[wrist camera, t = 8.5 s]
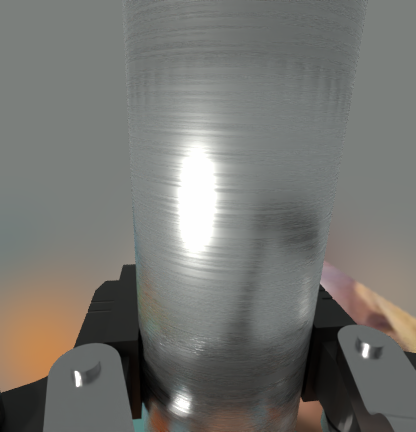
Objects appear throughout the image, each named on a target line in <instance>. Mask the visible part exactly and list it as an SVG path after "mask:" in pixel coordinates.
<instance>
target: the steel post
mask: <svg viewBox="0 0 416 432" xmlns="http://www.w3.org/2000/svg"><path fill="white" fill-rule="evenodd" d="M367 2H368V0H122V5H123V25H124V45H125V65H126V82H127V102H128V124H129V144H130V162H131V181H132V182H131V183H132V202H133V221H134V222H133V223H134V242H135V260H136V261H135V262H136V282H137V302H138V321H139V334H140V354H141V374H142V394H143V420H144V432H295V427H296V421H297V415H298V409H299V403H300V397H301V391H302V386H303V380H304V374H305V368H306V362H307V356H308V350H309V344H310V338H311V333H312V327H313V321H314V315H315V309H316V303H317V297H318V291H319V285H320V280H321V274H322V268H323V262H324V256H325V250H326V244H327V238H328V232H329V226H330V221H331V215H332V209H333V203H334V197H335V191H336V185H337V179H338V173H339V168H340V161H341V156H342V150H343V144H344V138H345V132H346V126H347V120H348V114H349V109H350V103H351V97H352V91H353V85H354V79H355V73H356V67H357V62H358V56H359V50H360V43H361V38H362V32H363V26H364V20H365V14H366V8H367Z"/></svg>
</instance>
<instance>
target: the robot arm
mask: <svg viewBox="0 0 416 432" xmlns="http://www.w3.org/2000/svg"><path fill="white" fill-rule="evenodd" d="M301 398H302V400H303V402H309V401H318V400H319V402H320V404H321V405H322V407H323V410H322V414H321V427H322V431H323V432H416V353H412V352H405V351H403V350H402V349H401V347H400V346H399V345H398V344H397V343H396V342H395V341H394V340H393V339H392V338H391V337H389V336H388V335H386V334H385V333H383V332H381V331H379V330H376V329H374V328H371V327H367V326H362V325H357V324H356V323H355V322H354V321H353V319H352V318H351V317H350V316H349V315H348V314H347V313H346V312H345V311H344V310H343V308H342V307H341V306H340V305H339V304H338V303H337V302H336V301H335V300H334V299H332V296H331V295H330V294H329V293H328V292H327V291H325V289H324V288H323V287H322V285H321V284H320V285H319V291H318V297H317V303H316V309H315V315H314V321H313V327H312V333H311V338H310V344H309V350H308V356H307V362H306V368H305V374H304V380H303V386H302V391H301ZM142 405H143V394H142V374H141V354H140V334H139V321H138V302H137V282H136V264H133V265H123V268H122V272H121V275H120V279H119V280H116V281H105V282H104V283H103V284H102V285H101V286H100V287H99V288H98V289H97V290H96V291H95V293H94V296H93V298H92V301H91V304H90V306H89V309H88V313H87V314H86V317H85V320H84V322H83V325H82V327H81V330H80V333H79V335H78V338H77V340H76V343H75V346H74V348H73V349H71V350H70V351H68V352H66V353H65V354H64V355H62V356H61V357H60V358H58V360H57V361H56V362H55V363H54V364H53V366H52V367H51V369H50V371H49V375H48V376H47V377H45V378H42V379H40V380H38V381H36V382H33V383H30V384H27V385H24V386H21V387H18V388H15V389H12V390H9V391H6V392H2V393H1V392H0V432H135V430H134V425H133V420H135V419H142Z"/></svg>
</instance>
